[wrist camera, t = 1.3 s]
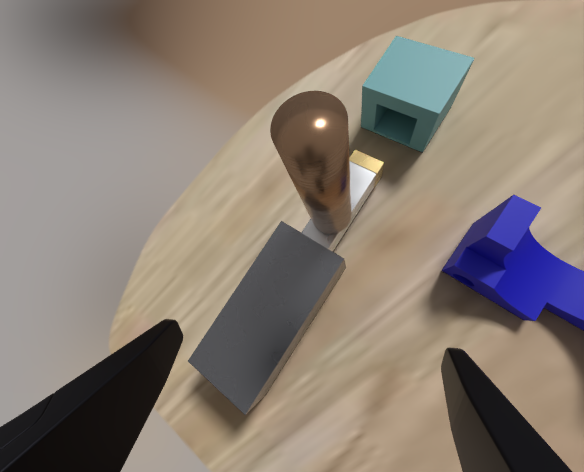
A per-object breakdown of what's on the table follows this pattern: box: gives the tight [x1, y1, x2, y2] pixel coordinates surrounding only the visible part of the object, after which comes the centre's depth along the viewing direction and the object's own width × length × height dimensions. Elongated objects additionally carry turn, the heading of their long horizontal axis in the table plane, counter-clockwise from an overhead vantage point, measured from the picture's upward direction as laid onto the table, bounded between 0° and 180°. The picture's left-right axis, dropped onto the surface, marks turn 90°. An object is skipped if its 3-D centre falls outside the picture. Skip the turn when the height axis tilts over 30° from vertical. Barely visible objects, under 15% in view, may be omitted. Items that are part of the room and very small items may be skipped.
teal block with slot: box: [361, 36, 474, 153], centre depth 22 cm, size 5×6×5 cm
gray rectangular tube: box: [188, 221, 346, 415], centre depth 21 cm, size 12×5×4 cm, turn 146°
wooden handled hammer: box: [270, 91, 384, 252], centre depth 16 cm, size 18×3×13 cm, turn 146°
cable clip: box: [442, 195, 584, 331], centre depth 17 cm, size 12×4×6 cm, turn 53°
